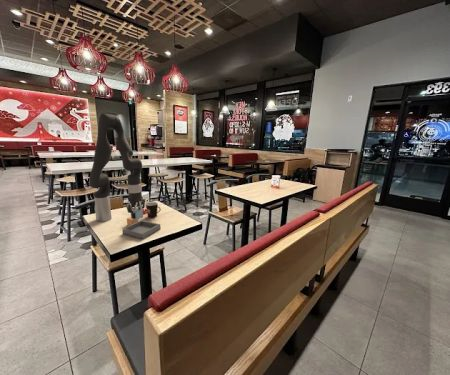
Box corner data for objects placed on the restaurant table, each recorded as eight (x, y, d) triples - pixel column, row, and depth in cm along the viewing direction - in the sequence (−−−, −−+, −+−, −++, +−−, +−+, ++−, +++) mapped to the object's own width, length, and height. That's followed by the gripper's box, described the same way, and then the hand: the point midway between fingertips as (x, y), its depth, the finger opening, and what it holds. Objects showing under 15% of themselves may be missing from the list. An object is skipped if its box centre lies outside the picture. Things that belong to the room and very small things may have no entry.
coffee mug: (144, 215, 162) (143, 203, 160) (155, 213, 168) (155, 201, 165) (150, 220, 154) (149, 207, 151) (162, 217, 159) (161, 205, 157)
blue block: (131, 218, 134) (130, 211, 133) (137, 216, 138) (136, 208, 137) (137, 219, 132) (136, 212, 131) (143, 217, 137) (142, 209, 135)
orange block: (127, 225, 145) (126, 218, 144) (132, 222, 150) (132, 215, 149) (132, 226, 143) (132, 219, 142) (138, 223, 148) (137, 217, 147)
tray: (122, 234, 132) (122, 229, 131) (141, 224, 146) (141, 220, 145) (142, 239, 126) (142, 234, 125) (160, 229, 140) (160, 224, 139)
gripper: (138, 188, 139) (140, 212, 143) (120, 193, 126) (123, 219, 130) (148, 189, 136) (149, 214, 140) (130, 194, 123) (132, 221, 127)
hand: (137, 216), depth 135 cm, fingers closed on blue block, 5 cm apart
